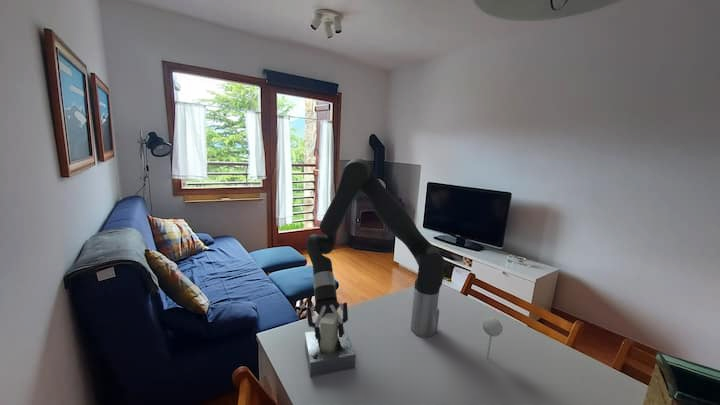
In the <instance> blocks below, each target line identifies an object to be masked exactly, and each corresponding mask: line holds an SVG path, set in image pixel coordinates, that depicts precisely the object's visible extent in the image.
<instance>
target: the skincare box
mask: <svg viewBox="0 0 720 405" xmlns="http://www.w3.org/2000/svg"><path fill="white" fill-rule="evenodd" d="M338 314H339V313H338ZM338 314H334V313H327V314H325V315H324V317H323V318H322V319H321V321H320V324H319V327H320V338H321V340H320V348H319V349H320V353H321V354H326V353H332V352H337V343H338Z"/></svg>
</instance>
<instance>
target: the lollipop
mask: <svg viewBox="0 0 720 405" xmlns="http://www.w3.org/2000/svg"><path fill="white" fill-rule="evenodd" d="M481 324H482V330H484V332H485V334H487V335H488V336H489V340H488V341H489V342H488V346H487V354H486V360H488V359H489V354H490V347H491V342H492V337H498V336H500V335H501V334H502V333H503V331H504V330H503V329H504V327H503V325H502V323H501V321H500V320H499V319H497V318H496V317H492V316H489V317H486V318H485V319H483V321H482V323H481Z"/></svg>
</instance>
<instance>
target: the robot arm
mask: <svg viewBox="0 0 720 405" xmlns="http://www.w3.org/2000/svg"><path fill="white" fill-rule="evenodd" d="M340 177H341V178H340V181H339V184H338V187H337V189H336V192H335V195H334V197H333V199H332V201H331V202H330V204H329V206H328V207H327V209H326V211H325V213H324V216H323V218H322V220H321V221H320V224H319V226H318V227H319V230H320V231H321V233H323V234H325V235H321V234H315V233H314V234H310V235H309V236H308V237H307V239H306V241H305V246H306V250H307V251H306V252H307V254H308V256H309V260H310V262H311V265H312V272H313V279H312V280H313V290H314V291H313V292H314V293H313V294H314V306H307V308H306V310H305V312H306V317H307V324H308V325H307V326H308V327H309V328H312V329H314V331H315V338H316V339H317V340H318V341H320V340H321V338H320V322H321V321H322V319H323V317H324V315H325V314H327V313H334V314H338V332H339V338H341V337H342V336H343V335H344V329H343V327H344V324H345V323H347V322H348V321H349V314H348V313H349V312H348V311H349V310H348V303H347V302H344V303H343V302H342V303H341V302H339V301H338V297H337V287H336V281H335V280H336V279H335V276H334V269H333V263H332V260H331V258H330V257H327V256H325V255H328V254H330V253H332V252H333V251H334V247H335V243H336V238H337V234H338V231H339V228H340V227H341V225H342V223H343V221H344V219H345V218H346V215H347V212H348V210H349V207H350V206H351V204H352V202H353V200H354V199H355V197H356V195H357V194H358V193H359V191H362V193H363V194H364V195H365V197H367V199H368V201H369V203H370V205H371V207H372V209H373V210H374V212H375V214H376V216H377V217H378V219H379V220H380V222H381V223H382V224H383V225H384V227H386V229H387V230H388V231H389V232H390V233H391V234H392V235H393V236H394V237H395V238H396V239H398V240H400V241H401V242H402V243H403V244H404V245H405V246H406V248H407V249H408V251H410V253H411V255H412V256H413V258H414V259H415V262H416V264H417V265H418V266H417V267H418V270H417V271H418V272H417V278H416V279H415V281H414V287H413V288H414V289H413V298H412V308H411V310H412V311H411V320H410V330H411V331H412V333H413V334H415V335H416V336H418V337H422V338H429V337H432V336H434V335H435V333H438V326H439V317H440V309H439V296H440V289H441V287H442V286H443V280H444V272H445V268H446V267H445V266H446V264H445V258H444V257H443V255H442V254H441V252H440V251H439V250H438V249H437V248H436V247H435V246H434V245H433V244H432V243H431V242H429V240H428V239H427V238H426V237H425V236H424V235H423V234H422V233H421V232H420V230H419V229H418V227H417V225H416V224H415V222H414V221H413V219H412V217H411V216H410V215H409V212H408V211H406V210H405V209H404V207H403V205H401V204H400V202H399V201H398V200H397V198H395V197H394V196H393V195H392V193H390V191H389V190H388V189H387V188H386V187H385V186H384V184H382V182H381V181H380V180H379V178H378V177H377V175H376V173H375V172H374V170H373V169H372V167H371V166H370V164H369V163H368V162H367V161H366V160H365V159H364V158H363V159H362V158H359V157H357V158H353V159H351V160H349V161H348V162H347V163H346V164H345V165H344V167H343V169H342V173H341V176H340ZM339 308H340V310H341V311H342V318H341V315H340V314H339V312H338V309H339ZM314 312H315V313H317V315H318V316H317V318H316V321H315V322H313V313H314Z"/></svg>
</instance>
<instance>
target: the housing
mask: <svg viewBox="0 0 720 405" xmlns="http://www.w3.org/2000/svg"><path fill="white" fill-rule="evenodd" d="M343 329H344V335H343V336H342V337H341V338H339V332H338V343H337V349H336V351H335V352H332V353H326V354H321V353H320V341H318V340H317V339H316V338H315V330H313V331H312V330H311V331H306V332H304V349H305V354H306V360H307V366H308V372H309V377H310V378H313V377H318V376H323V375H327V374H333V373H337V372H343V371H348V370H352V369H356V355H357V353H356V351H355V348H354V347H353V344H352V341H351V339H350V337H349V336H350V335H349V334H348V332H347V329H346V327H345V326H343Z"/></svg>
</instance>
